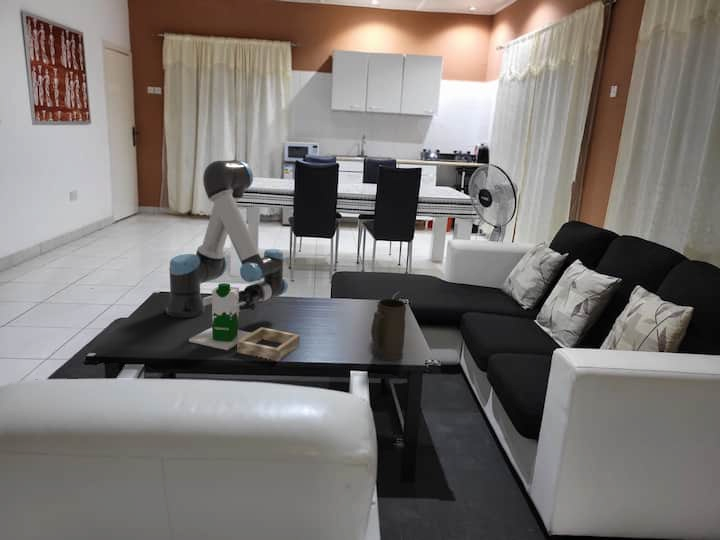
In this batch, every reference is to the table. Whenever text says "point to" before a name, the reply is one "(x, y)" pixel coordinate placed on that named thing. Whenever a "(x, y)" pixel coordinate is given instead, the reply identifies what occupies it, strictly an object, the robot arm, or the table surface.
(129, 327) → the table surface
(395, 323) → the beer stein
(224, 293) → the soya milk
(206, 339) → the tile
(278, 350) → the wooden square tray
